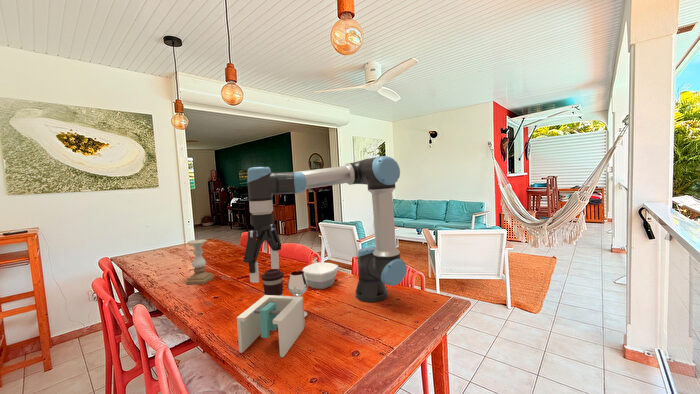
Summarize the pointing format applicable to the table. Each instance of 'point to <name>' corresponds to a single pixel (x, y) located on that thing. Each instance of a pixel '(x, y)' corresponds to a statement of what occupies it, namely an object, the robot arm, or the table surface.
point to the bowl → (320, 274)
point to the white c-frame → (286, 320)
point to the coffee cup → (273, 282)
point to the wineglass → (298, 284)
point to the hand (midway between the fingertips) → (265, 274)
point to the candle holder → (199, 265)
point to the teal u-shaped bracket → (267, 320)
